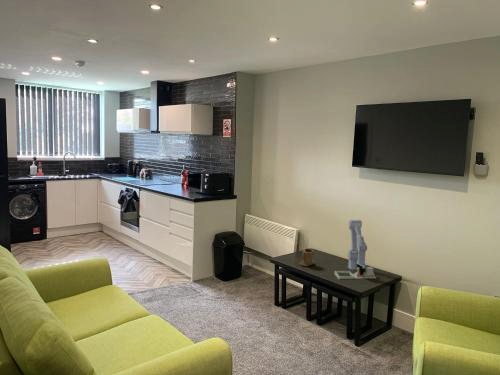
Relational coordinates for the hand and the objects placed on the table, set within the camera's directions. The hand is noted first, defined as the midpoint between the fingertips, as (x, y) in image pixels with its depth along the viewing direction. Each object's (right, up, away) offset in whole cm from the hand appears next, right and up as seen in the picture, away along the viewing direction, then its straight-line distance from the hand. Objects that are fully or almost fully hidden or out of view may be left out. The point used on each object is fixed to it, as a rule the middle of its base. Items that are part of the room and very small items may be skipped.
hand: (360, 273), depth 318 cm
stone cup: (-40, +2, +27) cm, 48 cm away
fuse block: (+3, -3, +1) cm, 4 cm away
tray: (-14, -3, 0) cm, 14 cm away
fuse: (+7, -2, +1) cm, 8 cm away
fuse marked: (0, -2, 0) cm, 2 cm away
